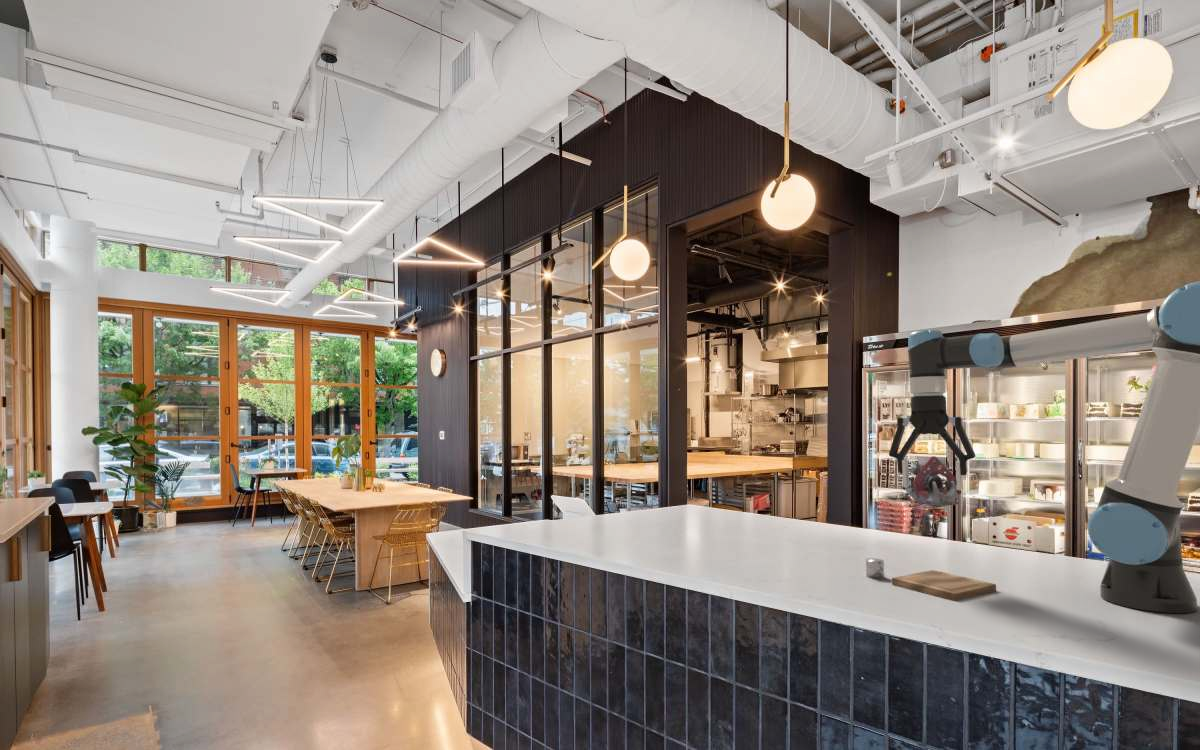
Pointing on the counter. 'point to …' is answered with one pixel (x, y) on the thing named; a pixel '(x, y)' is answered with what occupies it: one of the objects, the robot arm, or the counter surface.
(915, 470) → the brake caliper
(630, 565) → the counter surface
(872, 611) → the counter surface
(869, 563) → the grey metallic cube
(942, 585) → the stand
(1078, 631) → the counter surface
